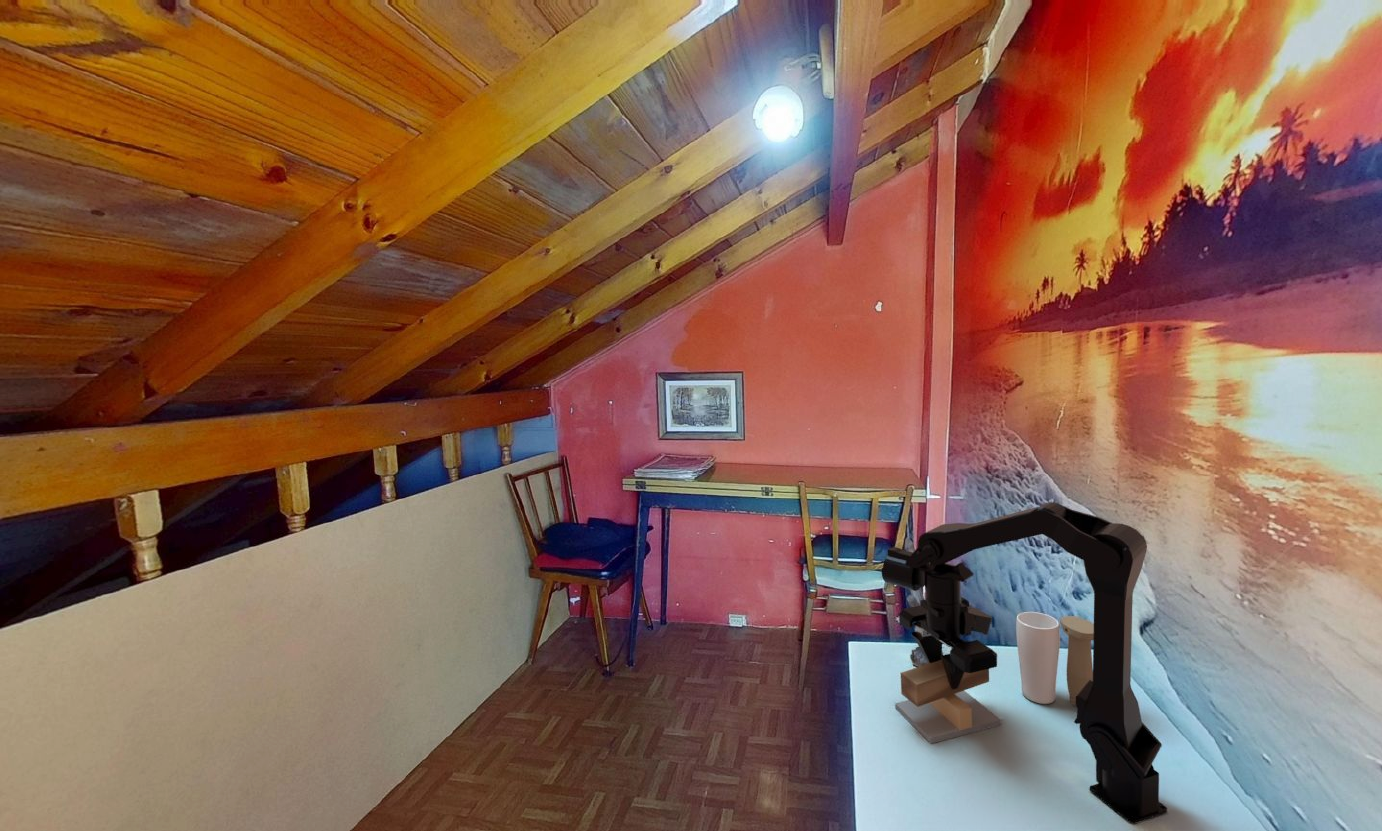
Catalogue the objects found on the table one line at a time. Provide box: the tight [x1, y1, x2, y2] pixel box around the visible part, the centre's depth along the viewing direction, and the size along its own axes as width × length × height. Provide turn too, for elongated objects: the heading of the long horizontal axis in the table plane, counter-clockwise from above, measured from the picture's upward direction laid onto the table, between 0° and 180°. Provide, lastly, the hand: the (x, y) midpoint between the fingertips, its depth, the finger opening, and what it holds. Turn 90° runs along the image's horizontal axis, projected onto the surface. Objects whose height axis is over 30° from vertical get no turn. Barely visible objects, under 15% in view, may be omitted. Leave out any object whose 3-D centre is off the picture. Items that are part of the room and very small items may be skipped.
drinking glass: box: [1015, 611, 1061, 705], centre depth 103 cm, size 7×7×15 cm
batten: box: [900, 660, 990, 707], centre depth 99 cm, size 4×16×4 cm, turn 110°
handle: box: [1059, 615, 1094, 706], centre depth 100 cm, size 5×6×15 cm
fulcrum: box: [894, 690, 1002, 745], centre depth 100 cm, size 10×14×4 cm
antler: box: [904, 536, 944, 667], centre depth 118 cm, size 12×8×25 cm
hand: (945, 681), depth 99 cm, fingers closed on batten, 4 cm apart
